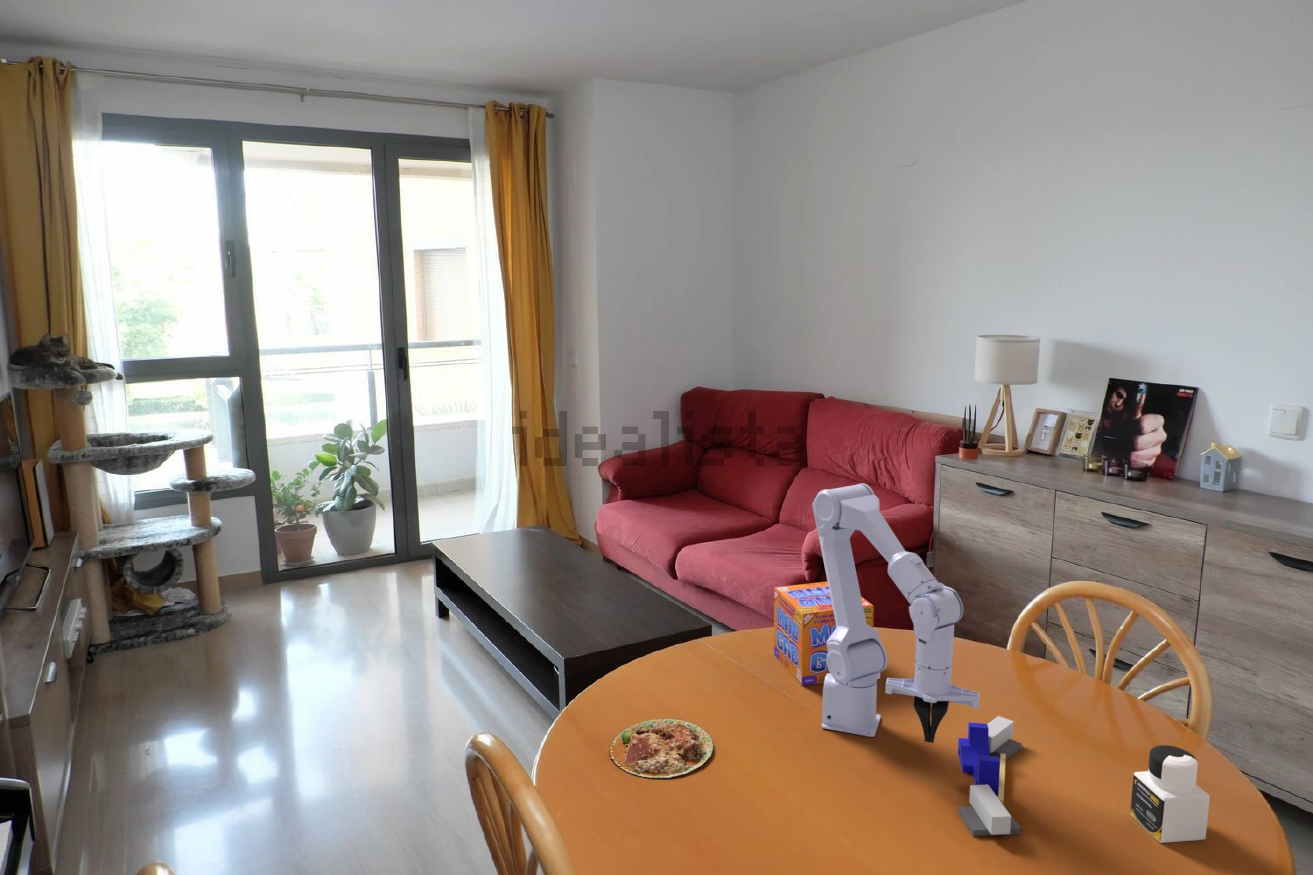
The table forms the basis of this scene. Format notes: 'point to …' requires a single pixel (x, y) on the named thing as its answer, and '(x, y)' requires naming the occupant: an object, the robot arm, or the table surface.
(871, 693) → the robot arm
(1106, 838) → the table surface
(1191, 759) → the medicine bottle
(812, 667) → the game box
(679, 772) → the food
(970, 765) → the blue piece
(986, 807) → the shaft rig
